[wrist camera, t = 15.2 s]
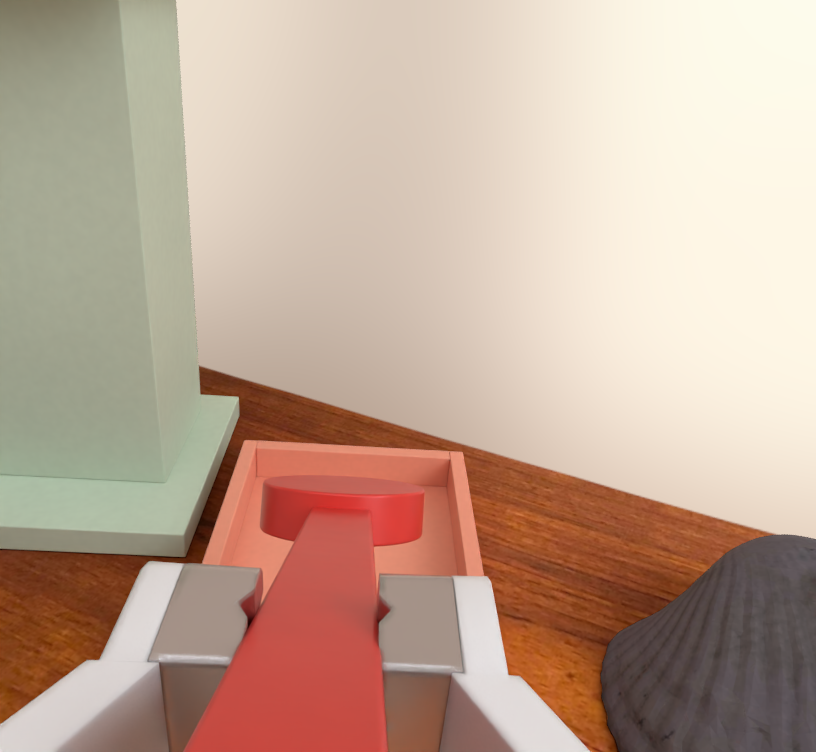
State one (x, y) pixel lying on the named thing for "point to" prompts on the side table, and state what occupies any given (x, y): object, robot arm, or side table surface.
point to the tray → (432, 470)
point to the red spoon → (315, 623)
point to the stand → (99, 286)
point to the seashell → (723, 659)
